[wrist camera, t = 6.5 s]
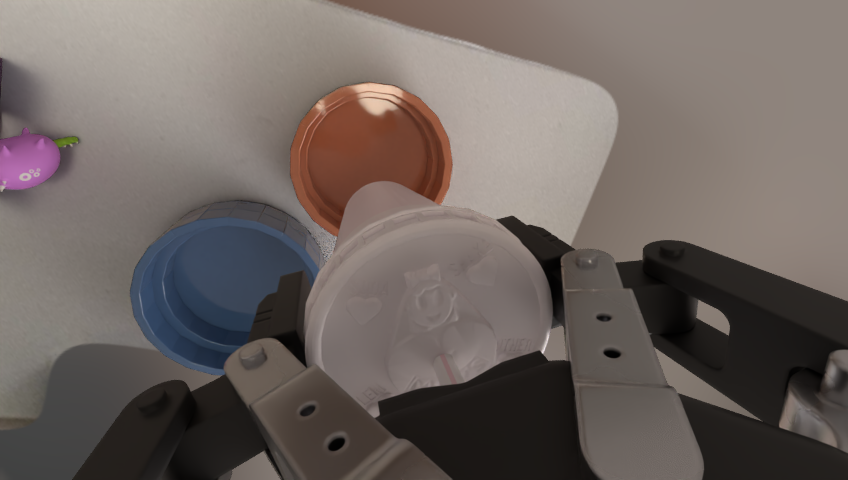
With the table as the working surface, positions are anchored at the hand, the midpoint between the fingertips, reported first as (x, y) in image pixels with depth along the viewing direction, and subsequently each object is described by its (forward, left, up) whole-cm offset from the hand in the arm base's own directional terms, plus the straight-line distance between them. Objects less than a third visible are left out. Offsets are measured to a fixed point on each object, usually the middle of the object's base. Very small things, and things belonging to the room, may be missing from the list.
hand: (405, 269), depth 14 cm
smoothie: (0, 0, -6) cm, 6 cm away
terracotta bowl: (+1, 0, -20) cm, 20 cm away
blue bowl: (-11, -7, -20) cm, 24 cm away
